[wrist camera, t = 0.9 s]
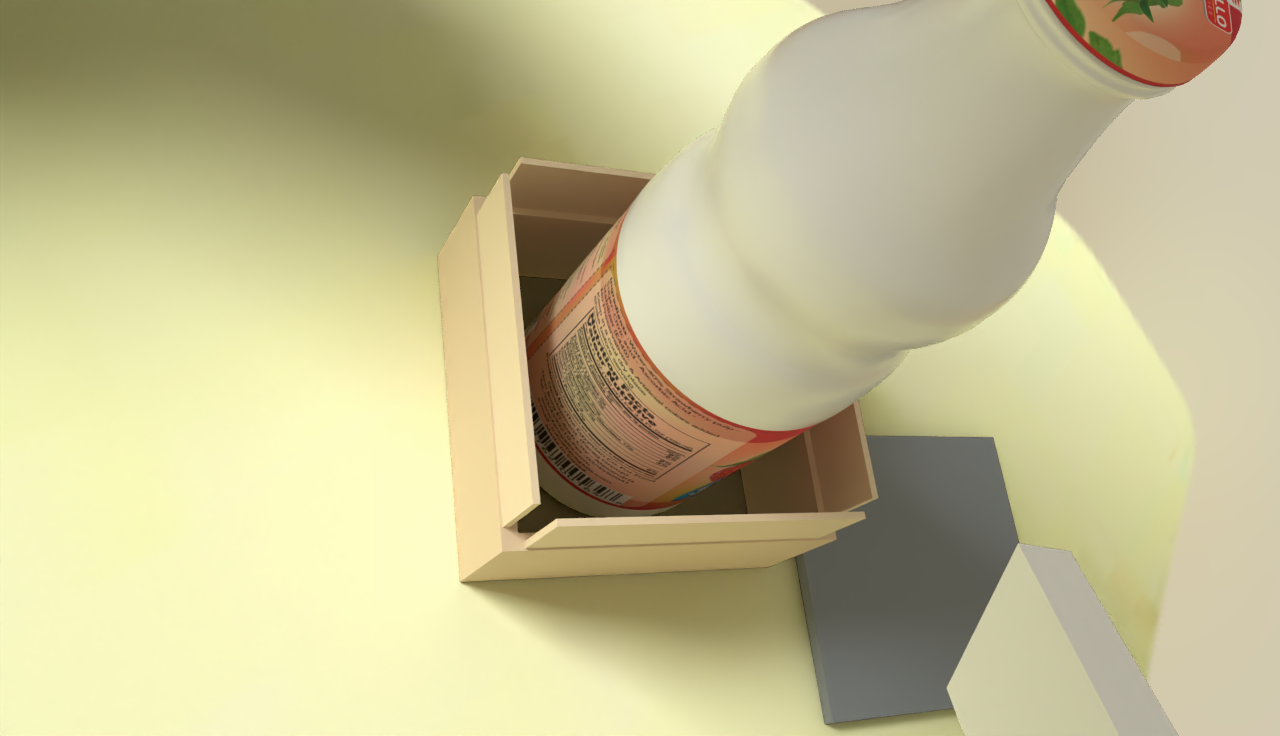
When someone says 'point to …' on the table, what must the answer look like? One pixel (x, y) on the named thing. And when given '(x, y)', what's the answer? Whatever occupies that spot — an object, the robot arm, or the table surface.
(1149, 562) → the table surface
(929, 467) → the coaster
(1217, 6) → the fruit juice
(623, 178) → the carton
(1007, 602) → the robot arm
